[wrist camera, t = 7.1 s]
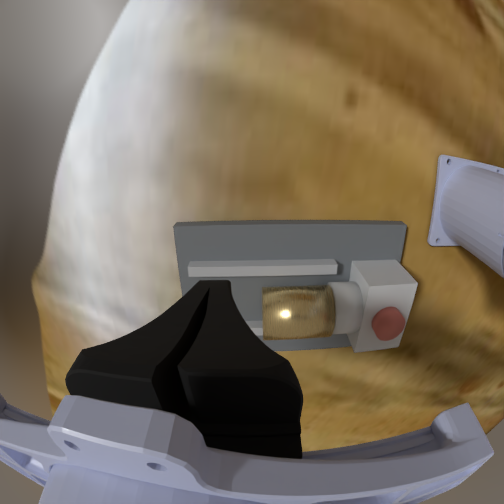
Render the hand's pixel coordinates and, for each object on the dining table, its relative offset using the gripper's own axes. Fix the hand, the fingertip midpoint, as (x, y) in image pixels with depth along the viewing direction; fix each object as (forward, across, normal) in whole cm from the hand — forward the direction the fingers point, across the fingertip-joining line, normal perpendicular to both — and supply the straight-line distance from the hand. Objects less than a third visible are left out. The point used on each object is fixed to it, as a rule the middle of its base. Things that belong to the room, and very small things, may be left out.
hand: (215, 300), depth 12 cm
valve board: (+10, -5, +6) cm, 13 cm away
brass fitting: (+9, -5, +6) cm, 12 cm away
